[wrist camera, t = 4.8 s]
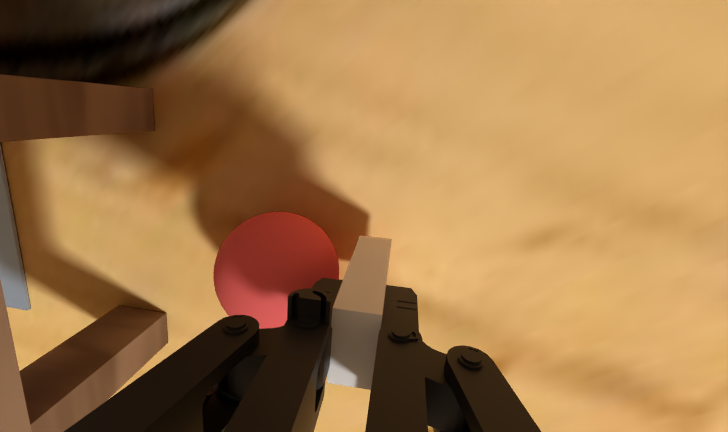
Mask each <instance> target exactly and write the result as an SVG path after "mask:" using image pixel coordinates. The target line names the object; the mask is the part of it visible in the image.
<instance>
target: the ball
mask: <svg viewBox="0 0 728 432" xmlns="http://www.w3.org/2000/svg"><path fill="white" fill-rule="evenodd" d="M321 278H330V279H337V280H339V263H338V258H337V254H336V251H335V248H334V246H333V244H332V242H331V241H330V239H329V237H328V236H327V235H326V233H325V232H324V231H323V230H322V229H321V228H320V227H319V226H318V225H316V224H315V223H314V222H312V221H311V220H309V219H307V218H305V217H302V216H300V215H297V214H294V213H288V212H269V213H263V214H260V215H257V216H254V217H252V218H250V219H248V220H246V221H244V222H243V223H241V224H240V225H239V226H237V227H236V228H235V229H234V230H233V231H232V232H231V233H230V234H229V235H228V236H227V238H226V239H225V241H224V242H223V244H222V245H221V247H220V249H219V251H218V254H217V257H216V261H215V265H214V286H215V291H216V294H217V297H218V299H219V301H220V303H221V306H222V307H223V308H224V310H225V311H226V313H227V314H228V315H229V316H233V315H247V316H251V317H253V318H255V319H256V320H257V321H258V322H259V329H263V328H276V327H281V326H284V324H285V322H286V321H287V307H288V295H289V294H290V293H292V292H293V291H296V290H298V289H305V288H312V287H313V285H314V283H315V282H317V281H318V280H320V279H321Z"/></svg>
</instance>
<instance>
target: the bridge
mask: <svg viewBox="0 0 728 432" xmlns="http://www.w3.org/2000/svg"><path fill="white" fill-rule="evenodd" d="M143 131H155V127H154V111H153V96H152V89H147V88H138V87H128V86H119V85H109V84H100V83H90V82H79V81H68V80H57V79H47V78H36V77H25V76H15V75H4V74H0V142H3V141H17V140H31V139H45V138H59V137H73V136H87V135H101V134H115V133H129V132H143ZM167 343H168V332H167V317H166V313H162V312H156V311H150V310H144V309H138V308H132V307H125V306H117V307H116V308H114V309H113V310H111V311H110V312H108V313H107V314H105V315H104V316H102V317H101V318H99V319H98V320H96V321H95V322H93V323H92V324H90V325H89V326H87V327H86V328H84V329H83V330H81V331H80V332H78V333H77V334H75V335H74V336H72V337H71V338H69V339H67V340H66V341H64V342H63V343H61V344H60V345H58V346H57V347H55V348H54V349H52V350H51V351H49V352H48V353H46V354H45V355H43V356H42V357H40V358H39V359H37V360H36V361H34V362H33V363H31V364H30V365H28V366H27V367H25V368H24V369H22V370H21V371H19V367H18V362H17V358H16V353H15V348H14V343H13V338H12V333H11V328H10V323H9V319H8V314H7V309H6V304H5V299H4V294H3V289H2V284H1V280H0V432H64V431H65V430H67V429H68V428H69V427H71V426H72V425H74V424H75V423H76V422H78V421H79V420H81V419H82V418H83V417H85V416H86V415H88V414H89V413H90V412H92V411H93V410H95V409H96V408H97V407H99V406H100V405H102V404H103V403H104V402H106V401H107V400H108V399H109V398H110V397H111V396H112V395H113V394H114V393H115V392H116V391H117V390H118V389H119V388H121V387H122V386H123V385H124V384H125V383H126V382H127V381H128V380H129V379H130V378H131V377H132V376H133V375H134V374H135V373H136V372H137V371H138V370H139V369H141V368H142V367H143V366H144V365H145V364H146V363H147V362H148V361H149V360H150V359H151V358H152V357H153V356H154V355H155V354H156V353H157V352H158V351H159V350H161V349H162V348H163V347H164V346H165V345H166V344H167Z"/></svg>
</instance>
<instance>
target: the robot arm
mask: <svg viewBox="0 0 728 432" xmlns="http://www.w3.org/2000/svg"><path fill="white" fill-rule="evenodd" d="M391 240H392V239H385V238H377V237H369V236H361V235H360V236H359V239H358V242H357V244H356V247H355V250H354V252H353V255H352V258H351V260H350V263H349V266H348V268H347V271H346V273H345V276H344V279H343V280H337V279H330V278H321V279H320V280H318V281H317V282H315V283H314V285H313V287H312V288H305V289H298V290H296V291H293V292H292V293H290V294H289V295H288V307H287V321H286V322H285V324H284V326H281V327H276V328H263V329H259V322H258V321H257V320H256V319H255V318H253V317H251V316H247V315H233V316H229V317H225V318H223V319H221V320H219V321H218V322H216V323H215V324H213V325H212V326H211V327H209V328H208V329H206V330H205V331H204V332H202V333H201V334H199V335H198V336H197V337H195V338H194V339H192V340H191V341H190V342H188V343H187V344H185V345H184V346H183V347H181V348H180V349H178V350H177V351H176V352H174V353H173V354H171V355H170V356H169V357H167V358H166V359H164V360H163V361H162V362H160V363H159V364H157V365H156V366H155V367H153V368H152V369H150V370H149V371H148V372H146V373H145V374H143V375H142V376H141V377H139V378H138V379H136V380H135V381H134V382H132V383H131V384H130V385H128V386H127V387H125V388H124V389H123V390H121V391H120V392H118V393H117V394H116V395H114V396H113V397H111V398H110V399H109V400H107V401H106V402H104V403H103V404H102V405H100V406H99V407H97V408H96V409H95V410H93V411H92V412H90V413H89V414H88V415H86V416H85V417H83V418H82V419H81V420H79V421H78V422H76V423H75V424H74V425H72V426H71V427H69V428H68V429H67V430H65V431H64V432H314V429H315V425H316V422H317V418H318V415H319V411H320V408H321V404H322V401H323V397H324V389H325V380H326V377H327V374H328V378H327V383H331V384H338V385H344V386H350V387H357V388H363V389H369V390H371V394H370V401H369V409H368V416H367V424H366V431H365V432H428V426H431V427H433V431H434V432H541V431H540V429H539V428H538V426H537V425H536V423H535V422H534V420H533V419H532V417H531V416H530V415H529V413H528V412H527V410H526V409H525V407H524V406H523V404H522V403H521V401H520V400H519V398H518V397H517V395H516V394H515V392H514V391H513V389H512V388H511V386H510V385H509V384H508V382H507V381H506V379H505V378H504V376H503V375H502V373H501V372H500V370H499V369H498V367H497V366H496V364H495V363H494V361H493V360H492V359H491V358H490V357H489V356H488V355H487V354H486V353H484V352H482V351H481V350H479V349H476V348H473V347H470V346H455V347H453V348H451V349H449V351H448V353H447V354H444V353H442V352H439V351H436V350H434V349H432V348H430V347H429V346H427V345H426V344H425V343H424V342H423V341H422V337H421V334H420V333H419V326H418V311H417V310H418V307H417V295H416V294H415V293H414V291H413V290H412V289H411V288H404V287H397V286H389V285H386V282H387V273H388V265H389V257H390V248H391Z"/></svg>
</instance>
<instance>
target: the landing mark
mask: <svg viewBox="0 0 728 432" xmlns="http://www.w3.org/2000/svg"><path fill="white" fill-rule="evenodd" d="M0 280H1V284H2V289H3V294H4V299H5V304H6V307H11V308H17V309H22V310H29V309H31V307H30V302H29V296H28V291H27V285H26V280H25V275H24V269H23V264H22V258H21V253H20V247H19V242H18V236H17V231H16V225H15V220H14V215H13V209H12V204H11V198H10V193H9V187H8V182H7V176H6V171H5V166H4V160H3V155H2V149H1V144H0Z"/></svg>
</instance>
